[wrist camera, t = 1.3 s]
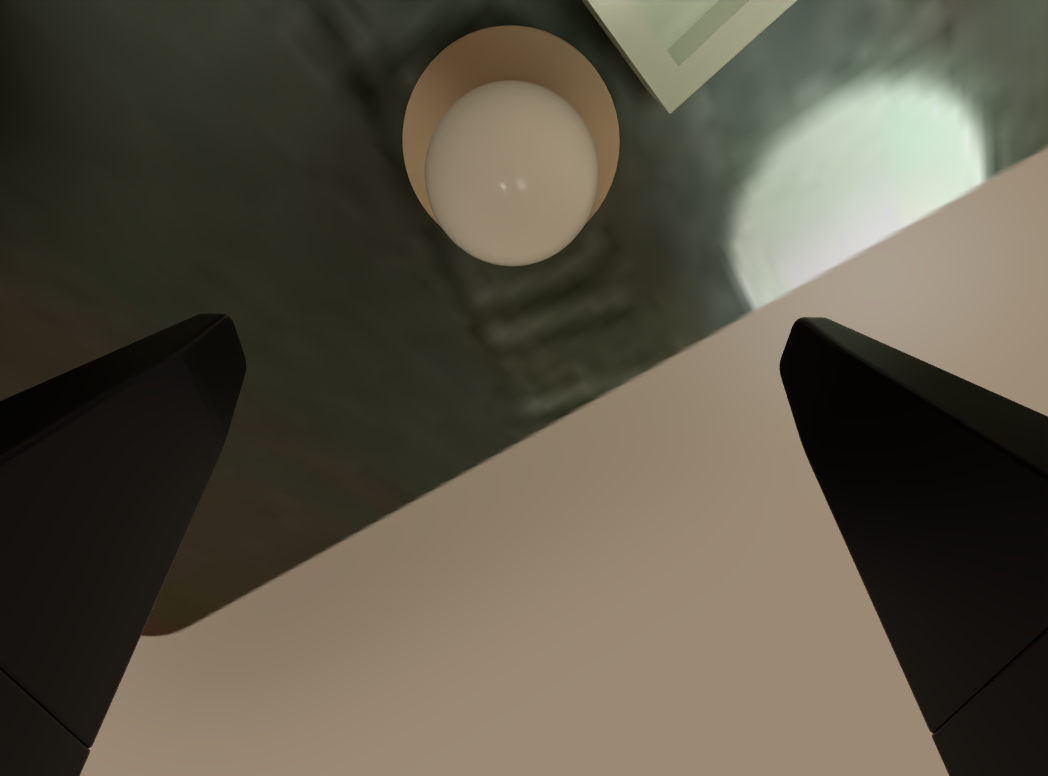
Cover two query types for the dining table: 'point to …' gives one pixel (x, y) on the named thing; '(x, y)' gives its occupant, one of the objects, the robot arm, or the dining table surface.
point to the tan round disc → (509, 59)
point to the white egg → (511, 173)
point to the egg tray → (681, 38)
